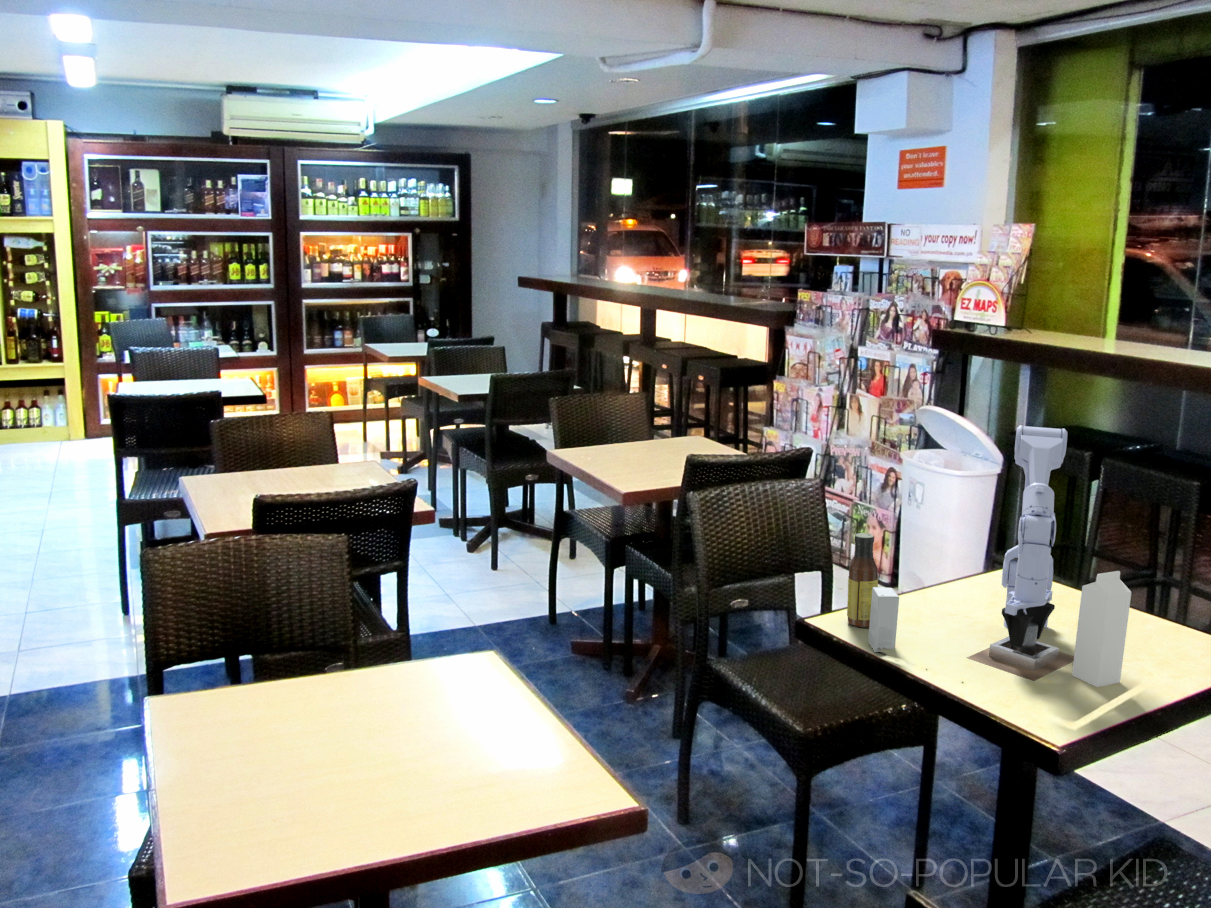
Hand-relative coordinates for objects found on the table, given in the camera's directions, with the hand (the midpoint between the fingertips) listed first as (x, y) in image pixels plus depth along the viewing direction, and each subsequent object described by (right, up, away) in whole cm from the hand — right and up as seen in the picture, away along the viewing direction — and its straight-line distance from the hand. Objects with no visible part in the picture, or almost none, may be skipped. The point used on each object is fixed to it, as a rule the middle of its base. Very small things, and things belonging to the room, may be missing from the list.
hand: (1024, 641), depth 208 cm
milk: (+10, -7, -8) cm, 15 cm away
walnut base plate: (0, -4, +1) cm, 4 cm away
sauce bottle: (-28, 0, +20) cm, 34 cm away
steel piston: (0, -3, +1) cm, 3 cm away
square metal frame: (0, -3, +1) cm, 3 cm away
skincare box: (-27, -3, +7) cm, 28 cm away
